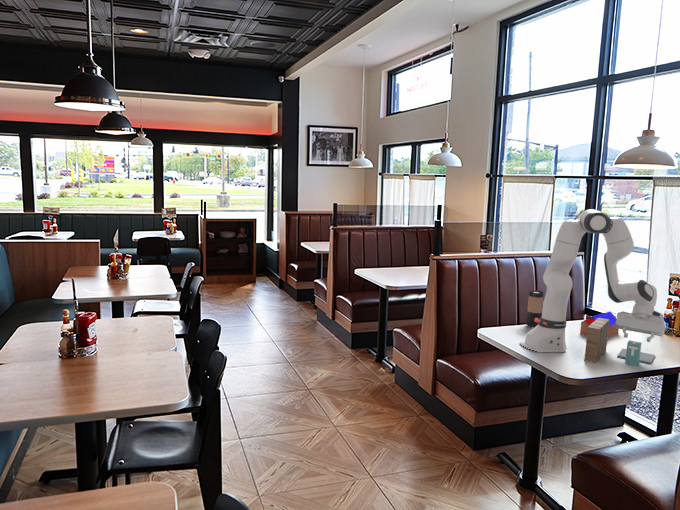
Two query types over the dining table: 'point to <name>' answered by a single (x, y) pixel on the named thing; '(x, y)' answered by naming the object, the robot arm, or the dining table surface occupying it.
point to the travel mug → (534, 307)
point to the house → (607, 315)
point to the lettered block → (633, 353)
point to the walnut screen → (596, 340)
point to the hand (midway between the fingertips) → (636, 339)
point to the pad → (643, 356)
